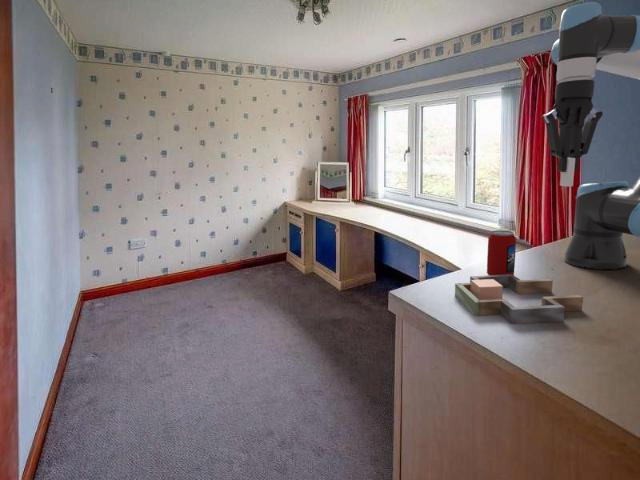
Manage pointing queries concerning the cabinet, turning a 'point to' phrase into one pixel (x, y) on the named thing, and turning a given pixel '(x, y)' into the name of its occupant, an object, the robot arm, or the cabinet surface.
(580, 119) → the robot arm
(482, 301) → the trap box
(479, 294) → the block
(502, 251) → the beverage can
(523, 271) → the cabinet surface
